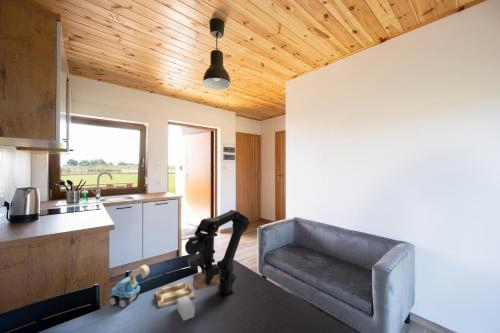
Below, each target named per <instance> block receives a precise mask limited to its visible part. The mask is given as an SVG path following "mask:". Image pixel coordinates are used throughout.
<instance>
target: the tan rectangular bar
mask: <svg viewBox="0 0 500 333" xmlns="http://www.w3.org/2000/svg"><path fill="white" fill-rule="evenodd" d="M219 284H220V274H218V275H214V277H213V279H212V281H211V283H210V284H209V285H207V283H206V276H205V275H204V273H202V272H201V273H200V272H199V273H197V274H193V275H192V287H193V289H194V290H195V291H200V290H202V289H205V288H210V287H214V286H218V285H219Z"/></svg>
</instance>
